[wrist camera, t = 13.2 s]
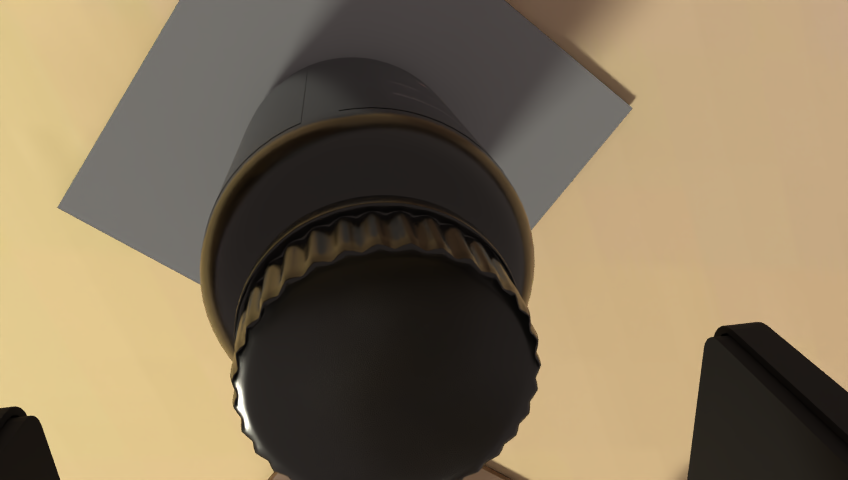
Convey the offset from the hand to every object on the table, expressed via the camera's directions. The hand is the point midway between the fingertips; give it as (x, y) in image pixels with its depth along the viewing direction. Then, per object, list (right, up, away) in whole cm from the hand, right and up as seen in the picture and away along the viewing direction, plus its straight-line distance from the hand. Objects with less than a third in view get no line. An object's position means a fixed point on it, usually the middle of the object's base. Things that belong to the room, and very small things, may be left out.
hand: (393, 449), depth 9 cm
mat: (-2, +6, +12) cm, 13 cm away
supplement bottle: (-2, +5, +12) cm, 13 cm away
